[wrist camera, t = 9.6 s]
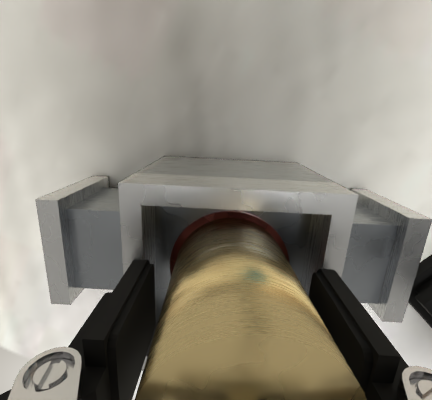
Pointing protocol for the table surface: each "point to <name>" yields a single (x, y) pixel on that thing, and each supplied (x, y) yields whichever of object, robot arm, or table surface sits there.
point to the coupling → (241, 326)
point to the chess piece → (423, 290)
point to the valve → (230, 208)
